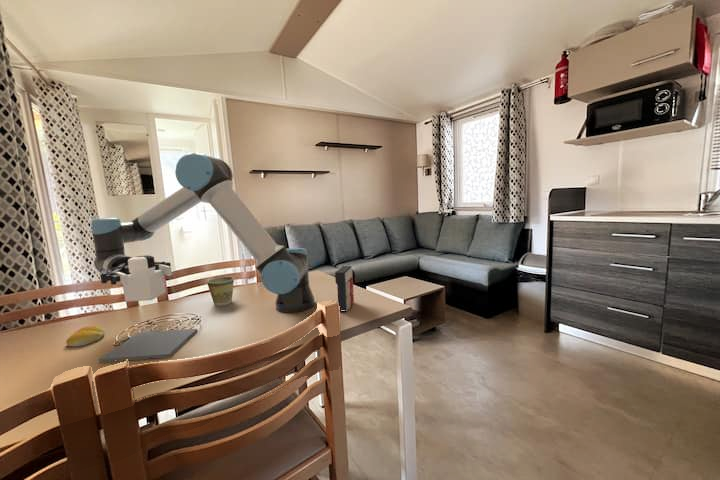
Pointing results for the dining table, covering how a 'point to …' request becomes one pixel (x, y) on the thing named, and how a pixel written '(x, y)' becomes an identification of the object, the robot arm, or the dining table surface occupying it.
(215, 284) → the ceramic cup
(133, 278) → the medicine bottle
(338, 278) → the dark grey box
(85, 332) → the yellow seashell
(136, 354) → the mat
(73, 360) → the dining table surface
